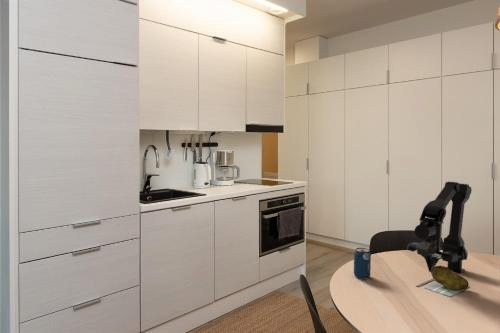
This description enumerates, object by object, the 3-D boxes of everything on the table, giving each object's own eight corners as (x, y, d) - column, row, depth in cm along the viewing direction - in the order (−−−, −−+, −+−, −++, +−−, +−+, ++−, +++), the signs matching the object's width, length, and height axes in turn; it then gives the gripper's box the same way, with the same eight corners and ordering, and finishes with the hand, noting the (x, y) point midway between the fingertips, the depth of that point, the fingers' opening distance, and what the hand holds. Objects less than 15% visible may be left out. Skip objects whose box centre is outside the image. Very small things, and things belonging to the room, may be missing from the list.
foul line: (438, 276, 159) (438, 275, 159) (441, 277, 158) (441, 276, 158) (415, 286, 148) (415, 285, 148) (418, 287, 148) (418, 286, 148)
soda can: (372, 279, 155) (373, 252, 154) (356, 279, 156) (356, 252, 155) (367, 273, 162) (368, 247, 161) (351, 273, 162) (352, 247, 162)
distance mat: (444, 279, 156) (444, 278, 156) (469, 286, 148) (469, 286, 148) (424, 288, 146) (424, 287, 146) (450, 296, 138) (450, 296, 138)
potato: (463, 295, 139) (464, 275, 138) (428, 285, 148) (428, 266, 147) (470, 289, 145) (470, 269, 144) (435, 280, 154) (436, 261, 153)
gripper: (401, 232, 154) (398, 268, 155) (445, 243, 138) (442, 283, 140) (415, 229, 160) (413, 263, 161) (460, 239, 145) (457, 278, 146)
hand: (430, 271), depth 152 cm, fingers closed
